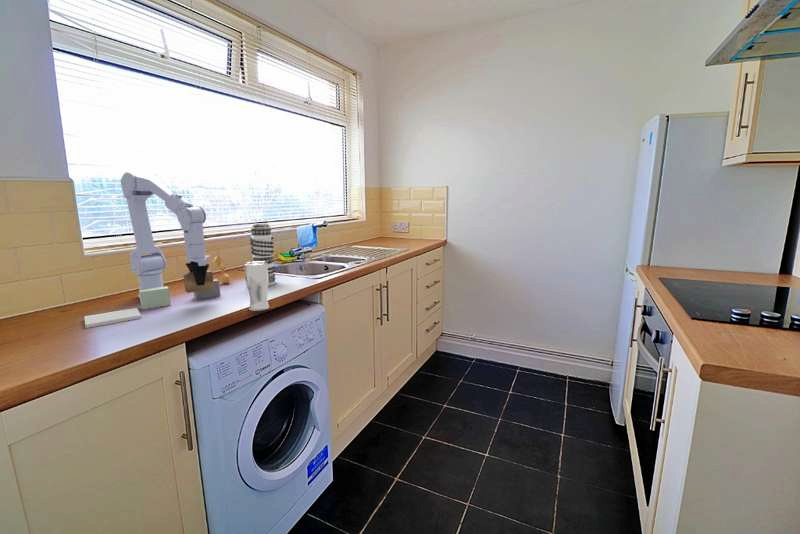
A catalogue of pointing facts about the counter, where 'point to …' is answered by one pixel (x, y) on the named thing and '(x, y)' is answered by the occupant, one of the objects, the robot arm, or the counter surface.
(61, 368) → the counter surface
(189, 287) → the walnut brick
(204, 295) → the grey brick
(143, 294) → the sage brick
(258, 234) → the decorative candle
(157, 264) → the robot arm
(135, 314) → the white mat
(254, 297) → the beer glass
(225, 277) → the figurine
